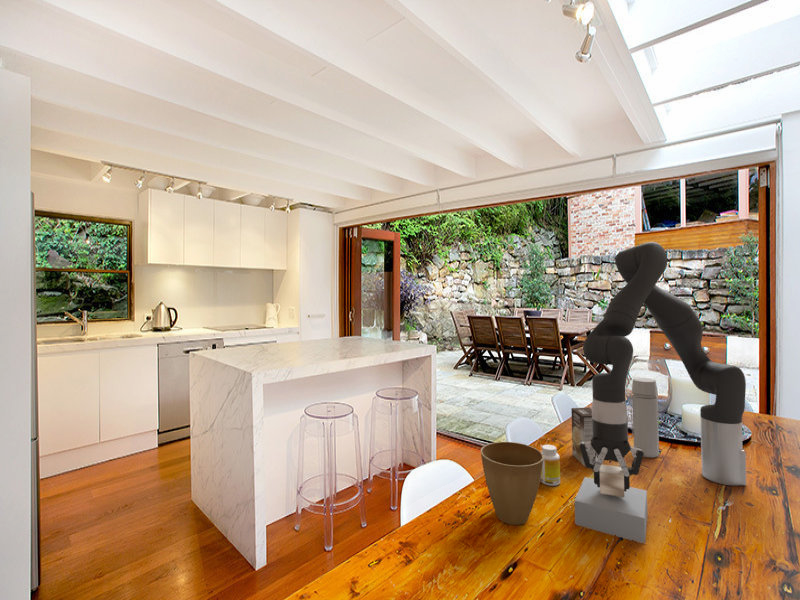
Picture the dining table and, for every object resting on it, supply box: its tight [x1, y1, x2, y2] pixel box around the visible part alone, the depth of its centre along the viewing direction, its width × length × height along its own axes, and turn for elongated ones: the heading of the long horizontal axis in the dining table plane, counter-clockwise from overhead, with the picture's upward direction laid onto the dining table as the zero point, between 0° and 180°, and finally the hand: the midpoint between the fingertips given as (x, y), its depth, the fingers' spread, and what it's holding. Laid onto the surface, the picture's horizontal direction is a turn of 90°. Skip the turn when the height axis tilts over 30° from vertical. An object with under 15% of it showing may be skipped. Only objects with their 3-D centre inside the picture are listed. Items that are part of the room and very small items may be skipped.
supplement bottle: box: [540, 444, 561, 487], centre depth 113 cm, size 6×6×10 cm
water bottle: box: [627, 377, 660, 459], centre depth 130 cm, size 9×8×25 cm
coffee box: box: [570, 407, 604, 467], centre depth 126 cm, size 9×6×16 cm
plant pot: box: [480, 441, 544, 526], centre depth 96 cm, size 15×15×16 cm
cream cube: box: [599, 464, 624, 497], centre depth 94 cm, size 5×5×5 cm
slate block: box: [574, 476, 648, 544], centre depth 94 cm, size 14×14×6 cm
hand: (611, 487), depth 94 cm, fingers closed on cream cube, 5 cm apart
